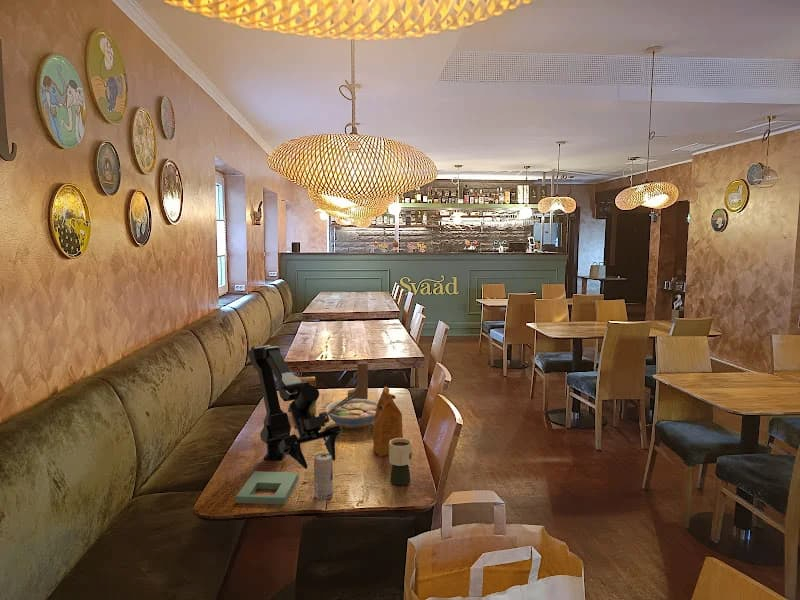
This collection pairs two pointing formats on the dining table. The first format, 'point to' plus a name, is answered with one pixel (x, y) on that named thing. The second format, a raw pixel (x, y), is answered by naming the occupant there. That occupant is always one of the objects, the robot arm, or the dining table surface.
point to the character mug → (400, 460)
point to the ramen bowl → (352, 412)
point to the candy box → (312, 382)
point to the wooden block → (361, 382)
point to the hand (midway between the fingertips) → (320, 464)
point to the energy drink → (323, 476)
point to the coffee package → (386, 423)
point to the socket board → (268, 487)
